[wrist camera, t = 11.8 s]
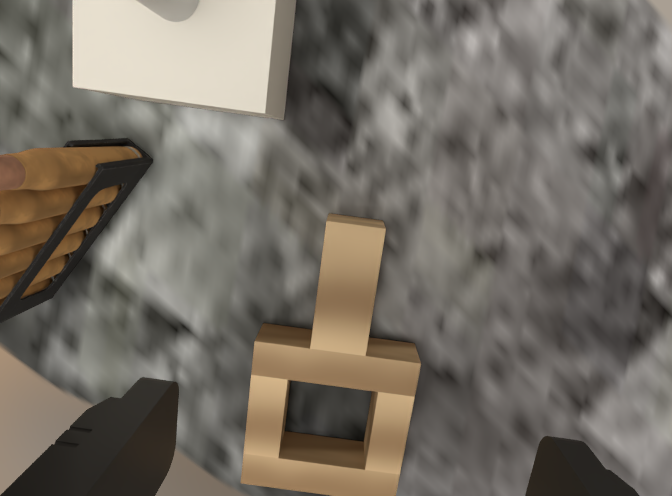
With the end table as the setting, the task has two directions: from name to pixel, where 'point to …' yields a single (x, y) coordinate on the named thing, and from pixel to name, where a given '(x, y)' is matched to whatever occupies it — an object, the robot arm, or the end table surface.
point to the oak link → (333, 379)
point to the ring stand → (187, 52)
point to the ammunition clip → (58, 212)
